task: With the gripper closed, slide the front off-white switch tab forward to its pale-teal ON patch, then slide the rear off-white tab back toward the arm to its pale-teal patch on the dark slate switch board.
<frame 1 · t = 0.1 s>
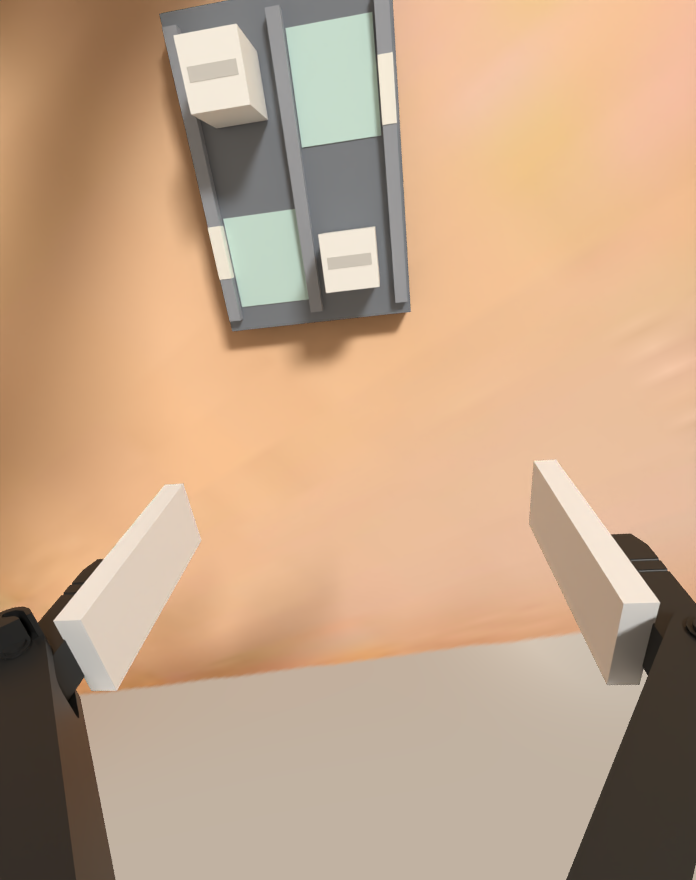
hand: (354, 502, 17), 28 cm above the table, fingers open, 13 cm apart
tab 1: (225, 81, 30), point 5 cm above the table, slide at 0.0 cm
tab 2: (351, 258, 35), point 5 cm above the table, slide at 0.0 cm
switch board: (302, 181, 37), on the table
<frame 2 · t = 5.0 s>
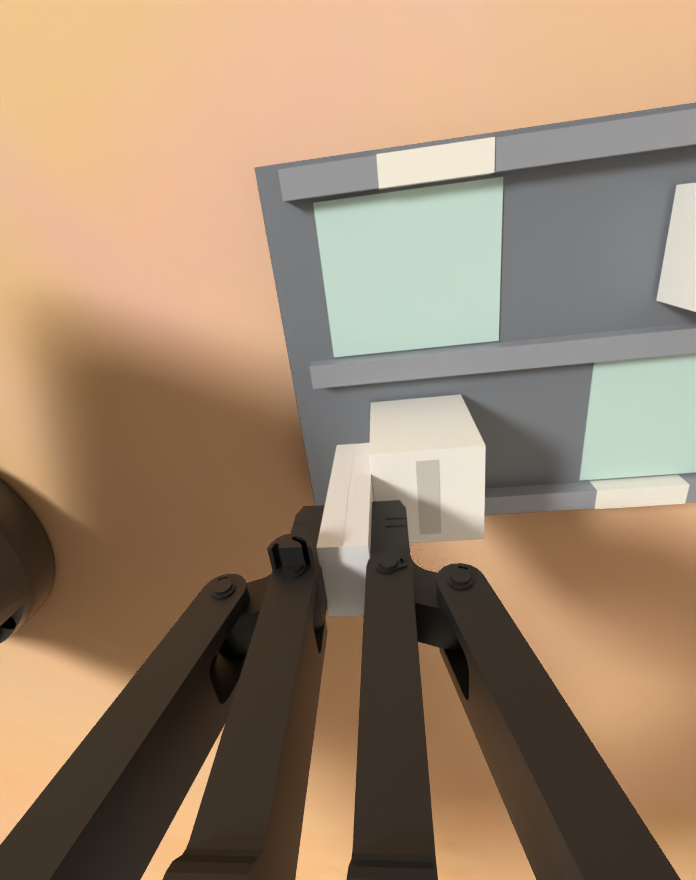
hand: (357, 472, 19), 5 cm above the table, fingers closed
tab 1: (422, 465, 19), point 5 cm above the table, slide at 0.4 cm, touching gripper
switch board: (531, 338, 21), on the table
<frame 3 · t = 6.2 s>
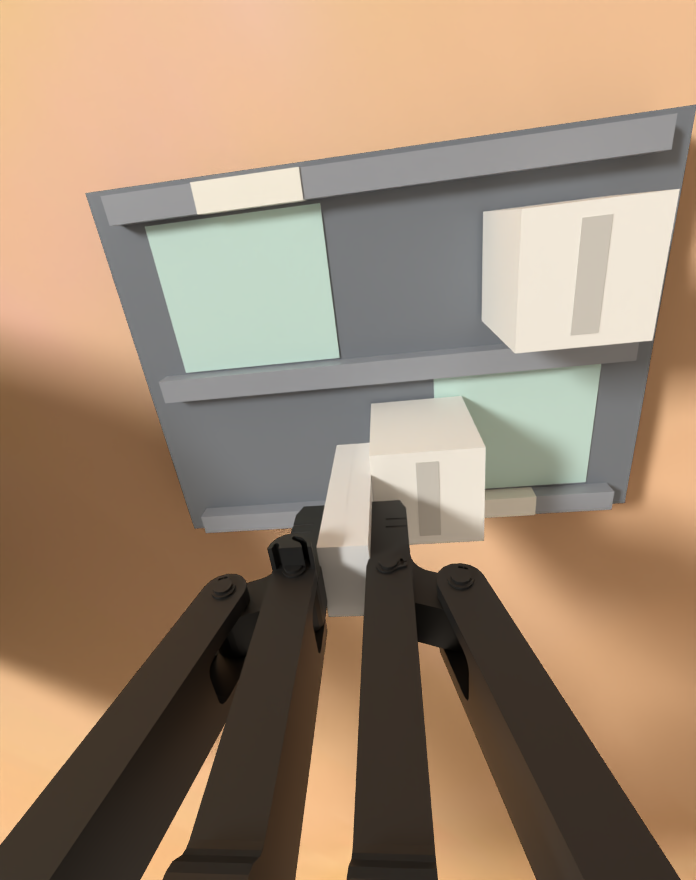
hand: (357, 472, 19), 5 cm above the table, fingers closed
tab 1: (422, 466, 19), point 5 cm above the table, slide at 7.2 cm, touching gripper
tab 2: (559, 269, 15), point 5 cm above the table, slide at 0.0 cm
switch board: (385, 354, 21), on the table
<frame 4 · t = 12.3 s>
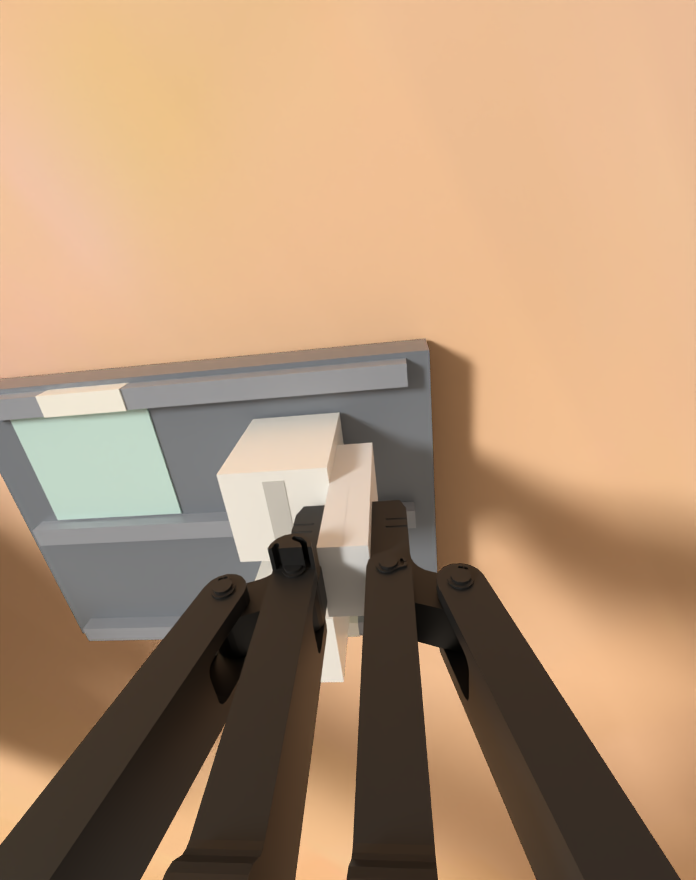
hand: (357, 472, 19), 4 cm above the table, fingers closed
tab 1: (302, 608, 22), point 5 cm above the table, slide at 10.2 cm
tab 2: (292, 482, 19), point 5 cm above the table, slide at 1.1 cm, touching gripper
switch board: (233, 498, 25), on the table
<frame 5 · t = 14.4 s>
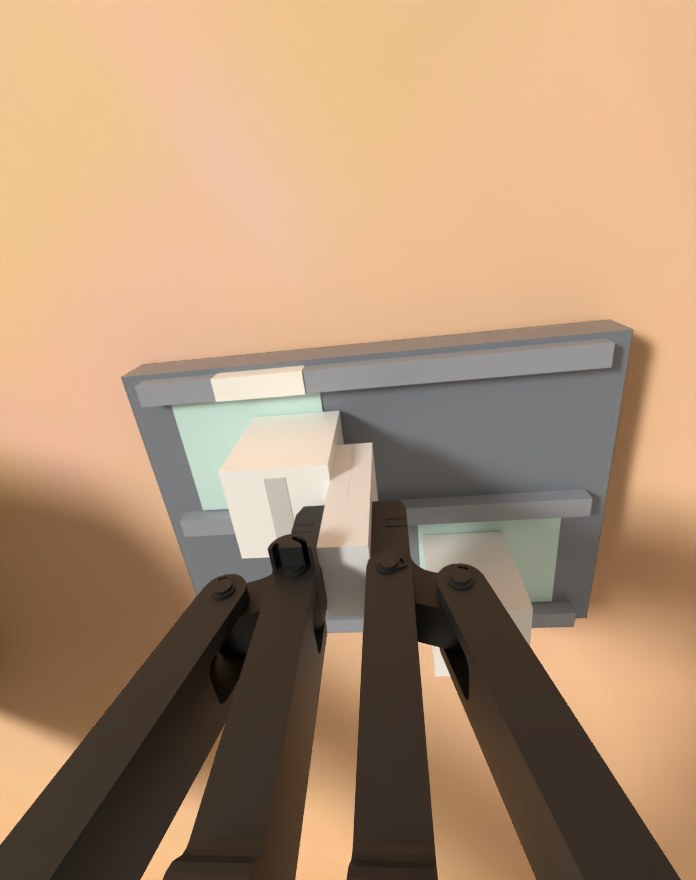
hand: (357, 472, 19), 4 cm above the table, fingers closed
tab 1: (471, 600, 21), point 5 cm above the table, slide at 10.2 cm
tab 2: (293, 480, 19), point 5 cm above the table, slide at 9.2 cm, touching gripper
switch board: (377, 488, 24), on the table
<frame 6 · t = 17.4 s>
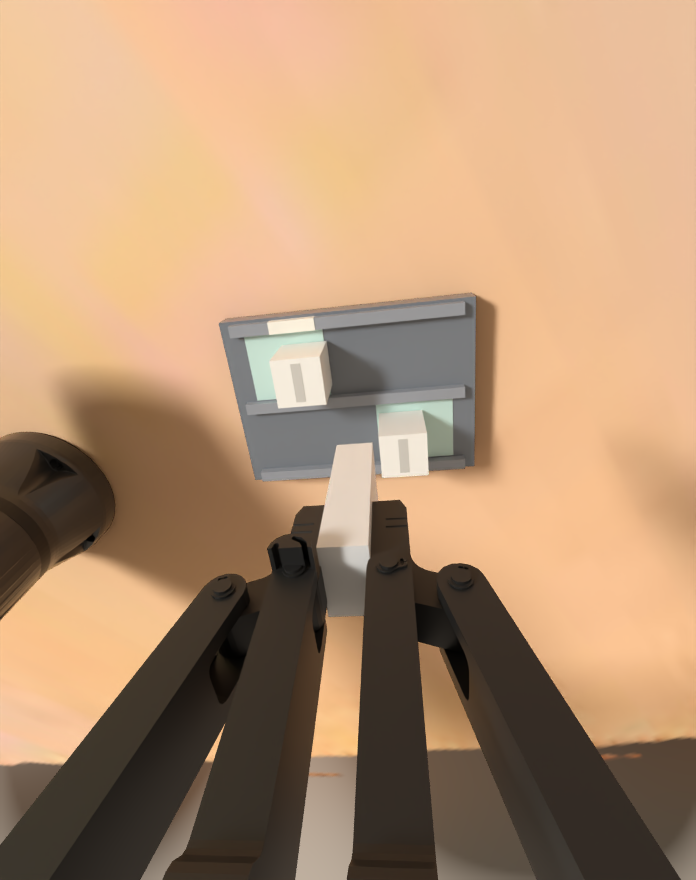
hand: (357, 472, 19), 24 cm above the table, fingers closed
tab 1: (402, 443, 40), point 5 cm above the table, slide at 10.2 cm
tab 2: (303, 373, 38), point 5 cm above the table, slide at 9.7 cm
switch board: (354, 391, 43), on the table
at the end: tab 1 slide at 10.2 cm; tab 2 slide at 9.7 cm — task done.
